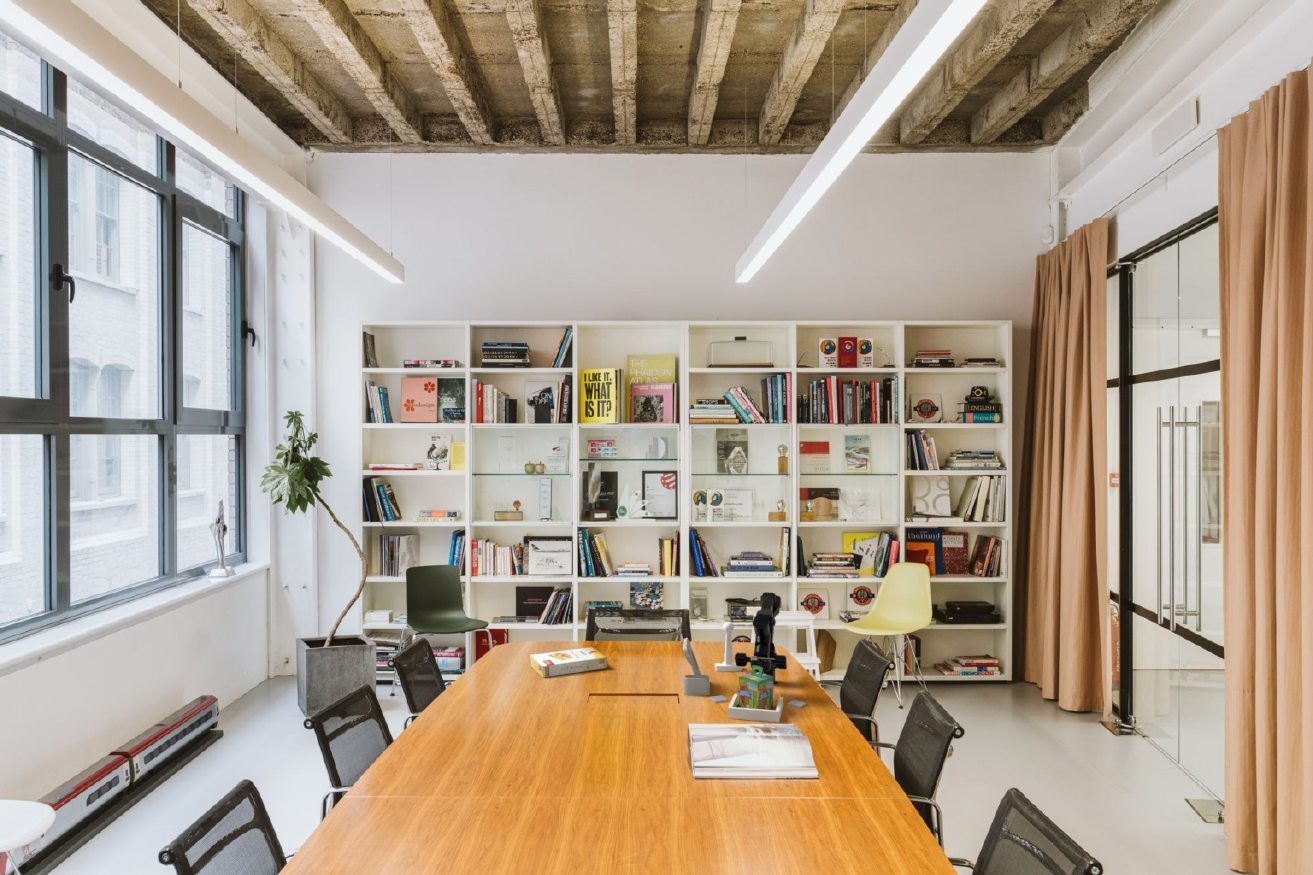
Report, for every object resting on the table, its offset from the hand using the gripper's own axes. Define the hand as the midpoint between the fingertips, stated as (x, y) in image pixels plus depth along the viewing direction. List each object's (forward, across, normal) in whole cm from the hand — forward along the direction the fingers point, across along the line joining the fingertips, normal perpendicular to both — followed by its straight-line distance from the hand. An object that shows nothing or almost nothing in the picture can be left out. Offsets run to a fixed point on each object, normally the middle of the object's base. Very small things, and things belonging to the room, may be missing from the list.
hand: (759, 681), depth 278 cm
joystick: (-22, +18, -34) cm, 44 cm away
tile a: (+5, -13, -7) cm, 16 cm away
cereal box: (-14, +84, -26) cm, 89 cm away
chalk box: (+10, 0, -2) cm, 10 cm away
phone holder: (-3, +26, -14) cm, 29 cm away
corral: (+12, 0, 0) cm, 12 cm away
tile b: (+5, +15, -7) cm, 17 cm away
